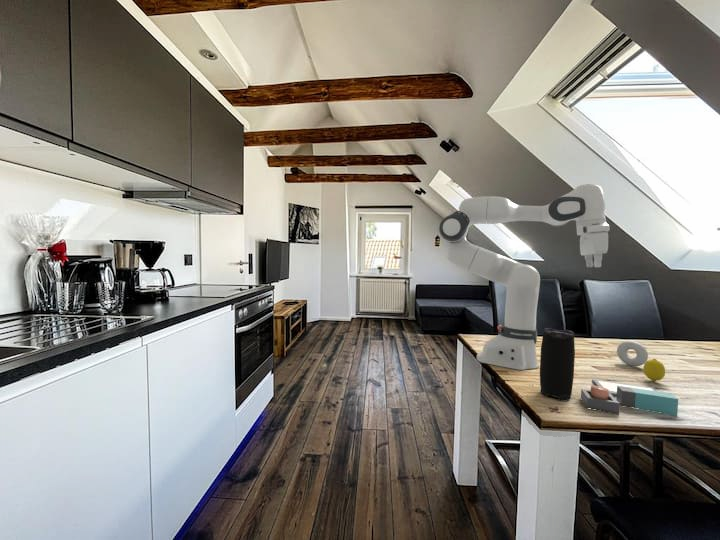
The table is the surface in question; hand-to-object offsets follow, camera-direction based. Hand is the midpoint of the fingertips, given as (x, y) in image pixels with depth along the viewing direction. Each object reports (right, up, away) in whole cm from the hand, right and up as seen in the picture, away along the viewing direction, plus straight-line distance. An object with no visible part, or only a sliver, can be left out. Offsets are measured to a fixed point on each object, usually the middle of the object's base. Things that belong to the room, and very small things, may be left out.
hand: (593, 267), depth 117 cm
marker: (-6, -39, -27) cm, 48 cm away
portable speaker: (-27, -39, -21) cm, 52 cm away
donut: (+23, -40, +12) cm, 47 cm away
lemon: (+16, -40, -6) cm, 43 cm away
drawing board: (-1, -39, -16) cm, 43 cm away
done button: (-19, -37, -28) cm, 50 cm away
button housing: (-19, -39, -27) cm, 51 cm away
